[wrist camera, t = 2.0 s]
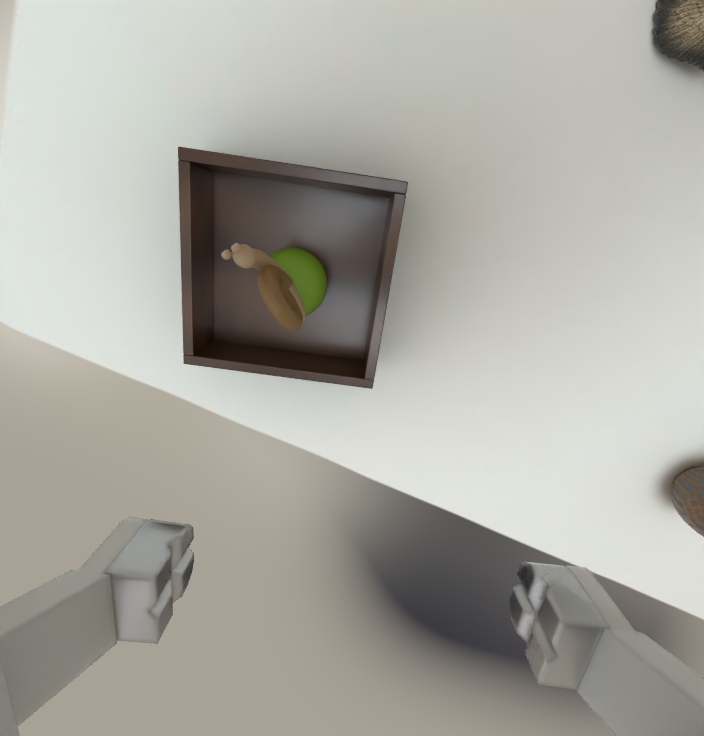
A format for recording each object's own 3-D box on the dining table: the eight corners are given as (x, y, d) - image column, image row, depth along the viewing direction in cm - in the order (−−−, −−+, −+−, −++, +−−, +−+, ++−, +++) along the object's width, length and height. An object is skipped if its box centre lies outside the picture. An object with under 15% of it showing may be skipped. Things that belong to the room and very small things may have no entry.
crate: (206, 159, 29) (177, 146, 24) (400, 189, 30) (408, 181, 25) (207, 345, 35) (183, 363, 30) (370, 367, 35) (372, 389, 31)
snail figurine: (301, 222, 30) (268, 218, 19) (341, 290, 32) (332, 324, 21) (247, 256, 31) (186, 273, 20) (289, 321, 33) (255, 368, 22)
